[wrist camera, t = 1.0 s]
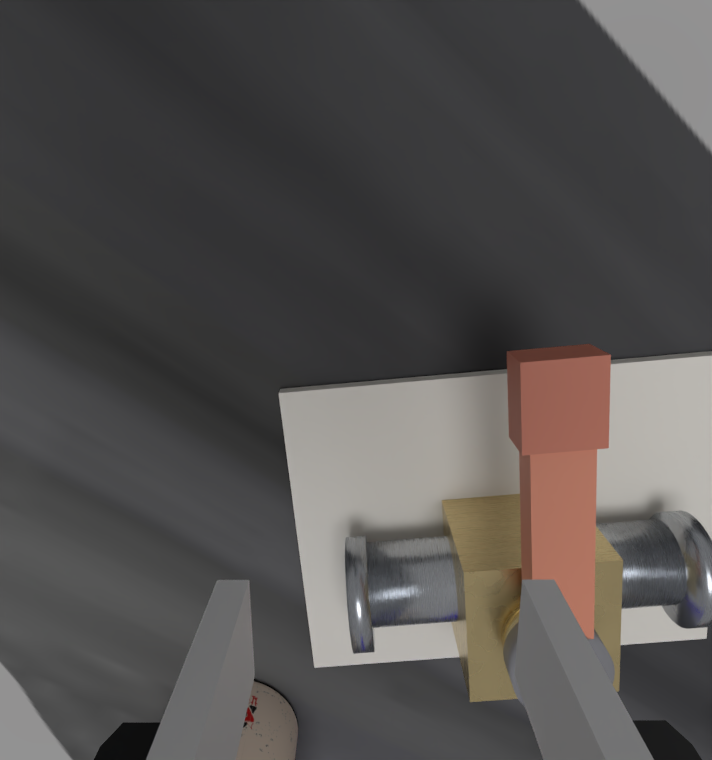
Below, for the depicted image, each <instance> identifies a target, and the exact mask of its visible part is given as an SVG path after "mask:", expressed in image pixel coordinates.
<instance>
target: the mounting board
mask: <svg viewBox="0 0 712 760" xmlns="http://www.w3.org/2000/svg"><path fill="white" fill-rule="evenodd" d="M279 401H280V408H281V416H282V424H283V431H284V439H285V447H286V454H287V462H288V469H289V477H290V485H291V492H292V500H293V507H294V515H295V523H296V530H297V538H298V546H299V553H300V561H301V568H302V576H303V584H304V591H305V599H306V607H307V614H308V622H309V629H310V637H311V645H312V652H313V660H314V668H317V667H331V666H344V665H357V664H371V663H384V662H398V661H411V660H425V659H438V658H452V657H459V653H458V648H457V644H456V640H455V636H454V631H453V627H452V623H451V622H445V623H432V624H419V625H406V626H393V627H380V628H374V636H375V652H370V653H356V654H354V653H353V650H352V645H351V638H350V630H349V620H348V608H347V594H346V576H345V540H346V537H355V536H366V539H367V542H375V541H388V540H400V539H413V538H425V537H438V536H444V532H443V515H442V500H449V499H461V498H473V497H485V496H498V495H510V494H520V471H519V451H518V449H517V448H516V446H515V445H514V444H513V442H512V441H511V439H510V438H509V424H508V384H507V369H501V370H490V371H479V372H467V373H456V374H444V375H433V376H421V377H410V378H399V379H387V380H376V381H364V382H353V383H341V384H330V385H318V386H307V387H296V388H284V389H280V391H279ZM679 510H680V511H685V512H688V513H690V514H691V515H692V516H694V517H695V518H696V519H697V520H698V521H699V522H700V523H701V525H702V526H703V527H704V529H705V530H706V531H707V533H708V535H709V537H710V538H711V540H712V351H707V352H696V353H684V354H673V355H662V356H650V357H639V358H627V359H616V360H611V371H610V415H609V448H606V449H597V487H596V524H600V523H612V522H625V521H637V520H649V519H650V517H651V516H652V515H653V514H655V513H657V512H666V511H679ZM693 639H707V627H703V628H690V629H686V628H682V627H680V626H678V625H677V624H675V623H674V622H673V621H672V620H671V619H670V617H669V616H668V615H667V614H666V612H665V611H664V609H663V608H662V606H656V607H643V608H629V609H622V612H621V644H620V645H626V644H640V643H653V642H666V641H680V640H693Z"/></svg>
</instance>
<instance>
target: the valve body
mask: <svg viewBox="0 0 712 760" xmlns="http://www.w3.org/2000/svg"><path fill="white" fill-rule="evenodd" d="M442 515H443V532H444V536H438V537H425V538H413V539H400V540H388V541H375V542H367V539H366V536H355V537H346V540H345V576H346V594H347V608H348V620H349V630H350V638H351V645H352V650H353V653H354V654H356V653H370V652H375V636H374V628H380V627H393V626H406V625H419V624H432V623H445V622H451V623H452V627H453V631H454V636H455V640H456V644H457V648H458V653H459V657H460V661H461V665H462V670H463V674H464V678H465V682H466V687H467V691H468V695H469V699H470V702H478V701H492V700H506V699H518V698H517V696H516V694H515V692H514V689H513V686H512V683H511V680H510V677H509V674H508V671H507V668H506V665H505V661H504V656H503V648H504V643H505V640H506V638H507V636H508V634H509V632H510V631H511V629H512V628H513V627H514V626H515V625H516V624H517V623H518V622H519V612H520V600H521V587H522V570H521V521H520V494H510V495H498V496H485V497H473V498H461V499H449V500H442ZM656 606H662V608H663V609H664V611H665V612H666V614H667V615H668V616H669V617H670V619H671V620H672V621H673V622H674V623H675V624H677V625H678V626H680V627H682V628H686V629H690V628H703V627H712V540H711V538H710V537H709V535H708V533H707V531H706V530H705V529H704V527H703V526H702V525H701V523H700V522H699V521H698V520H697V519H696V518H695V517H694V516H692V515H691V514H690V513H688V512H685V511H680V510H679V511H666V512H657V513H655V514H653V515H652V516H651V517H650V519H649V520H637V521H625V522H612V523H600V524H596V546H595V606H594V629H595V630H596V632H597V634H598V636H599V637H600V639H601V641H602V642H603V644H604V646H605V647H606V649H607V651H608V653H609V654H610V656H611V658H612V660H613V663H614V669H615V675H614V681H613V687H614V688H615V690H616V692H617V691H619V677H620V644H621V612H622V609H629V608H643V607H656Z"/></svg>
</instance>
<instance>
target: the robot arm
mask: <svg viewBox="0 0 712 760" xmlns="http://www.w3.org/2000/svg"><path fill="white" fill-rule="evenodd" d="M514 676H515V679H516V682H517V685H518V687H519V690H520V693H521V696H522V699H523V702H524V705H525V708H526V711H527V713H528V716H529V719H530V722H531V725H532V728H533V731H534V734H535V736H536V739H537V742H538V745H539V748H540V751H541V754H542V757H543V759H544V760H702V759H701V758H700V756H699V754H698V753H697V751H696V750H695V748H694V747H693V745H692V744H691V743H690V742H689V741H688V740H687V739H685V738H684V737H683V736H682V735H681V734H680V733H679V732H678V731H677V730H675V729H674V728H673V727H672V726H671V725H670V724H669V723H668V722H667V721H632V719H631V717H630V715H629V714H628V712H627V710H626V708H625V706H624V705H623V703H622V701H621V699H620V697H619V696H618V694H617V692H616V690H615V688H614V687H613V685H612V683H611V681H610V679H609V678H608V676H607V674H606V672H605V670H604V669H603V667H602V665H601V663H600V661H599V659H598V658H597V656H596V654H595V652H594V650H593V649H592V647H591V645H590V643H589V641H588V640H587V638H586V636H585V634H584V632H583V631H582V629H581V627H580V625H579V623H578V622H577V620H576V618H575V616H574V614H573V613H572V611H571V609H570V607H569V605H568V604H567V602H566V600H565V598H564V596H563V594H562V593H561V591H560V589H559V587H558V585H557V584H556V582H555V580H554V579H553V580H522V587H521V600H520V612H519V625H518V637H517V650H516V662H515V675H514ZM254 677H255V671H254V655H253V638H252V621H251V604H250V587H249V580H217V582H216V584H215V587H214V589H213V592H212V594H211V597H210V599H209V602H208V604H207V607H206V609H205V612H204V614H203V617H202V620H201V622H200V625H199V627H198V630H197V632H196V635H195V637H194V640H193V642H192V645H191V647H190V650H189V652H188V655H187V657H186V660H185V662H184V665H183V667H182V670H181V672H180V675H179V678H178V680H177V683H176V685H175V688H174V690H173V693H172V695H171V698H170V700H169V703H168V705H167V708H166V710H165V713H164V715H163V718H162V720H161V723H122V724H121V726H120V727H119V728H118V729H117V730H116V731H115V732H114V733H113V734H112V735H111V736H110V737H109V738H108V739H107V740H106V741H105V742H104V743H103V744H102V745H101V747H100V748H99V750H98V752H97V754H96V756H95V759H94V760H236V756H237V751H238V747H239V743H240V738H241V734H242V730H243V725H244V721H245V717H246V712H247V708H248V703H249V699H250V695H251V690H252V686H253V682H254Z"/></svg>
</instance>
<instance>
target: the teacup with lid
mask: <svg viewBox="0 0 712 760" xmlns="http://www.w3.org/2000/svg"><path fill="white" fill-rule="evenodd" d="M297 738H298V724H297V720H296V716H295V714H294V712H293V710H292V708H291V706H290V705H289V703H288V702H287V701H286V700H285V699H284V698H283V697H282V696H281V695H280V694H279V693H278V692H276V691H275V690H273V689H272V688H270V687H268V686H266V685H264V684H261V683H258V682H255V681H254V682H253V686H252V690H251V695H250V699H249V703H248V708H247V712H246V717H245V721H244V725H243V730H242V734H241V738H240V743H239V747H238V751H237V756H236V760H295V755H296V746H297Z"/></svg>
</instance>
